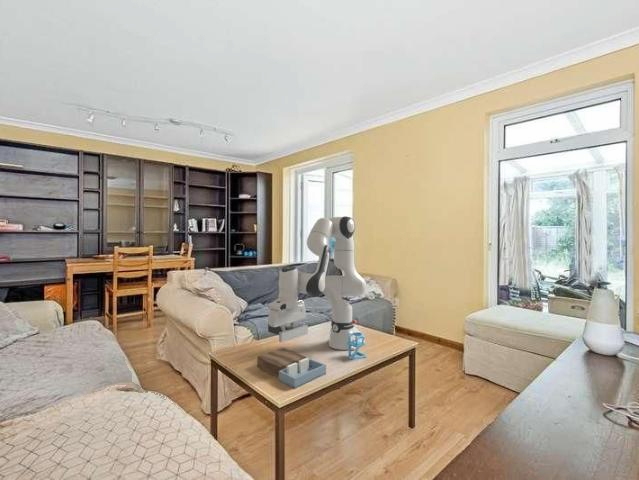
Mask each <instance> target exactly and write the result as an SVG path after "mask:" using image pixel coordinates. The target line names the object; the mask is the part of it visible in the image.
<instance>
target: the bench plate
mask: <svg viewBox="0 0 639 480" xmlns="http://www.w3.org/2000/svg"><path fill="white" fill-rule="evenodd" d="M305 358H307V356H306V355H303V354H301V353H299V352H296V351H293V350H291V349H289V348H286V347H281V348H278V349H275V350H273V351H269V352H266V353H264V354H260V355H257V359H256V360H257V361H256V363H257V368H259V369H261V370H262V371H265V372H266V373H268V374H270V375H272V376H273V377H274V376H275V377H276V378H278V379H279V371H280V370H283V369H285V368H287V366H288V365H290V364H293V363H297V364H298V363H299V361H300V360H302V359H305Z"/></svg>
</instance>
